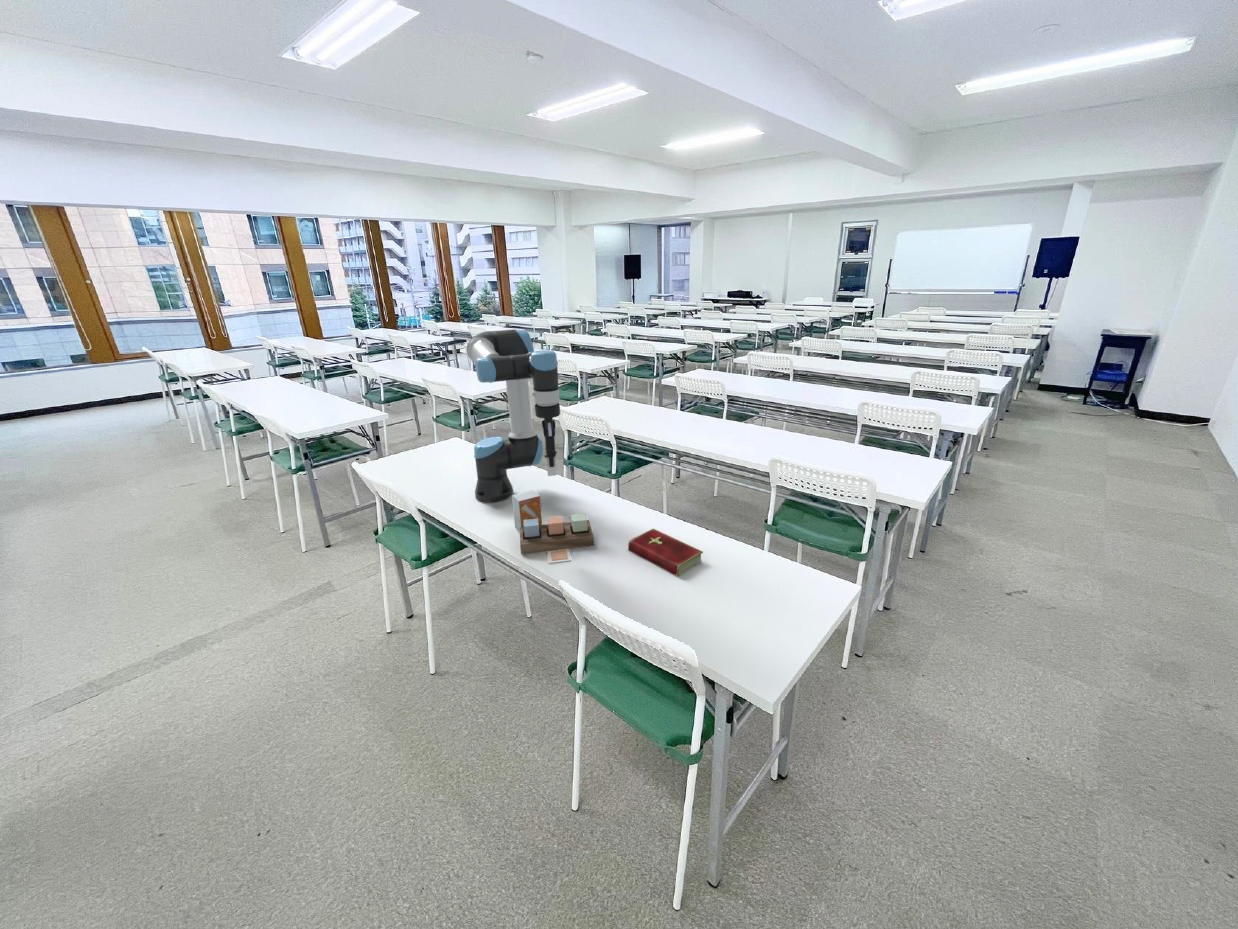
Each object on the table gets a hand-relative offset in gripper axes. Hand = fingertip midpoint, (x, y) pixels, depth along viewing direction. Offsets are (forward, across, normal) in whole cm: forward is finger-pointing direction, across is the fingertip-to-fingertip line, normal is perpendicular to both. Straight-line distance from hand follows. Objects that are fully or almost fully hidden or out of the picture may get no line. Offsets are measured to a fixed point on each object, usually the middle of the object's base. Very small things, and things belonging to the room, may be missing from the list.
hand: (552, 474), depth 159 cm
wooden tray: (+24, 0, 0) cm, 24 cm away
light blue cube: (+21, 0, -8) cm, 23 cm away
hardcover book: (+25, +17, +33) cm, 45 cm away
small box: (+25, -11, -9) cm, 28 cm away
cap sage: (+21, 0, +8) cm, 23 cm away
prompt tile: (+24, +10, 0) cm, 26 cm away
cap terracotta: (+21, 0, 0) cm, 21 cm away
